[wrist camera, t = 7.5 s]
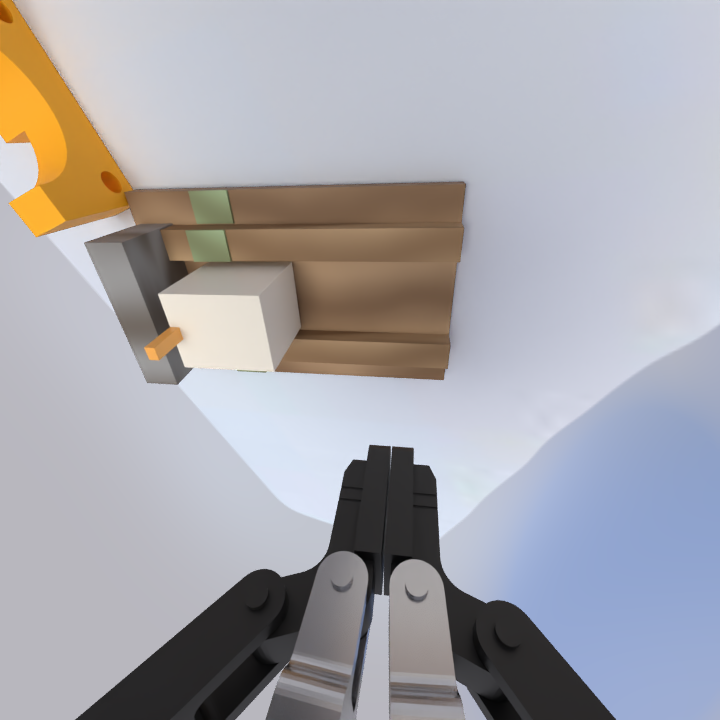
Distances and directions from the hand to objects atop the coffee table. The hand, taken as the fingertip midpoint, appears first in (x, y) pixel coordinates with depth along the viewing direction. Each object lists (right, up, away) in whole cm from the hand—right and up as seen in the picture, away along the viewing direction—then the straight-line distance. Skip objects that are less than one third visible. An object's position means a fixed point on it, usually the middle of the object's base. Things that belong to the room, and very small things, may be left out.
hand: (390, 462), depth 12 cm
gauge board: (-5, +9, +14) cm, 18 cm away
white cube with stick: (-9, +8, +14) cm, 18 cm away
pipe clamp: (-21, +19, +11) cm, 30 cm away
